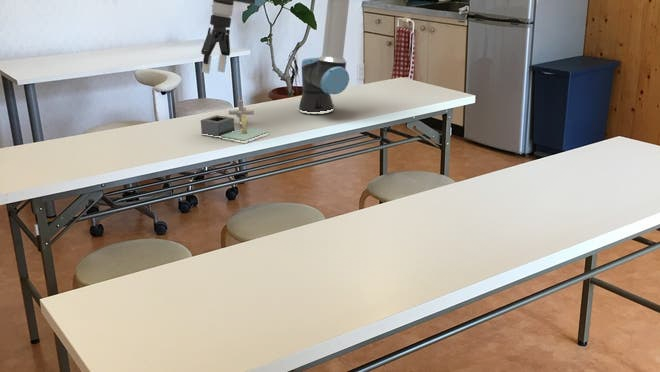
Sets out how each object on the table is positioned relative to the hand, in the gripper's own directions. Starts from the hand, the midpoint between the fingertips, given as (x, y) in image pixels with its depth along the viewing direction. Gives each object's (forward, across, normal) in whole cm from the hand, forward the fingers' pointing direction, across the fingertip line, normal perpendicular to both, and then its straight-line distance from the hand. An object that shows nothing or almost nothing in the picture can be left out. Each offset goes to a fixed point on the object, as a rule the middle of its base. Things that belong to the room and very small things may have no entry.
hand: (213, 72), depth 267 cm
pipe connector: (+21, -19, +7) cm, 29 cm away
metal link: (+24, -4, +4) cm, 24 cm away
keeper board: (+22, -2, +16) cm, 27 cm away
